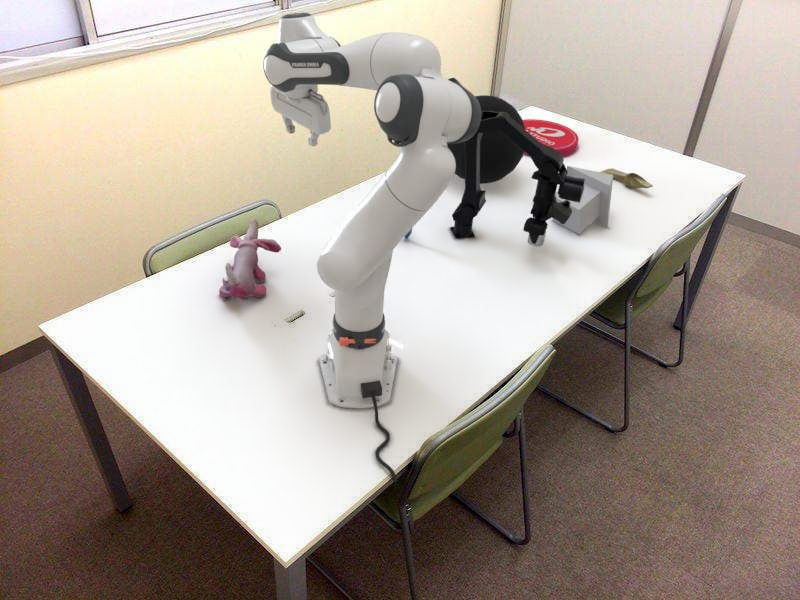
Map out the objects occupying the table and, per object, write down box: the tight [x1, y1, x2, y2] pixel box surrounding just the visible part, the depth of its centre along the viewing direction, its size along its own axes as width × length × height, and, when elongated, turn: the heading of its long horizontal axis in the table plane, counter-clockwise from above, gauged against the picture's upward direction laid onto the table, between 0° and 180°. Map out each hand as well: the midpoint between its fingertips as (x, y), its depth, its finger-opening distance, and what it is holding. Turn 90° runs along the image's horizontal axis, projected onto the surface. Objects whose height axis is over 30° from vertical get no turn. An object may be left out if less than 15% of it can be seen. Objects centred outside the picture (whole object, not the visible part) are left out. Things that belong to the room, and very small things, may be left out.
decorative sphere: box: [447, 94, 525, 185], centre depth 230 cm, size 30×30×30 cm
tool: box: [601, 167, 654, 189], centre depth 240 cm, size 22×6×5 cm, turn 26°
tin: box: [527, 231, 547, 247], centre depth 199 cm, size 5×5×4 cm
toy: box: [218, 218, 282, 301], centre depth 179 cm, size 19×24×15 cm
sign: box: [522, 118, 579, 158], centre depth 266 cm, size 30×4×30 cm
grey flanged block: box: [552, 165, 614, 235], centre depth 214 cm, size 17×24×18 cm
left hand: (301, 138), depth 165 cm, fingers open, 8 cm apart
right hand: (535, 239), depth 200 cm, fingers closed on tin, 5 cm apart
